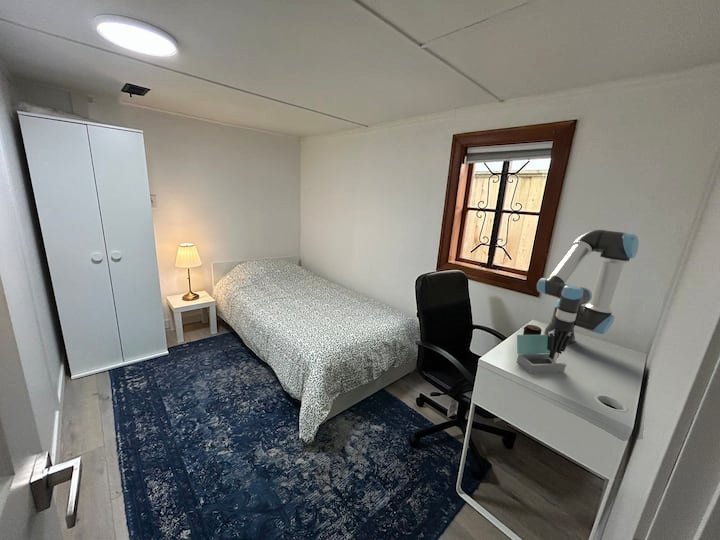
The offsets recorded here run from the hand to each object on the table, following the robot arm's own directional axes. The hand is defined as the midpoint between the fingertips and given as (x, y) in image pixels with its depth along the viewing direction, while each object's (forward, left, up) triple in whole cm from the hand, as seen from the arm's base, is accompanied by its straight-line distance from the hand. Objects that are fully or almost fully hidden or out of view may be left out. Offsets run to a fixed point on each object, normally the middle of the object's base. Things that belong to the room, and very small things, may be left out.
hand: (551, 363), depth 142 cm
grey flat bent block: (+6, 0, -1) cm, 6 cm away
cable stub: (+6, 0, -2) cm, 6 cm away
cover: (+6, -6, +7) cm, 11 cm away
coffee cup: (0, -16, -2) cm, 16 cm away
